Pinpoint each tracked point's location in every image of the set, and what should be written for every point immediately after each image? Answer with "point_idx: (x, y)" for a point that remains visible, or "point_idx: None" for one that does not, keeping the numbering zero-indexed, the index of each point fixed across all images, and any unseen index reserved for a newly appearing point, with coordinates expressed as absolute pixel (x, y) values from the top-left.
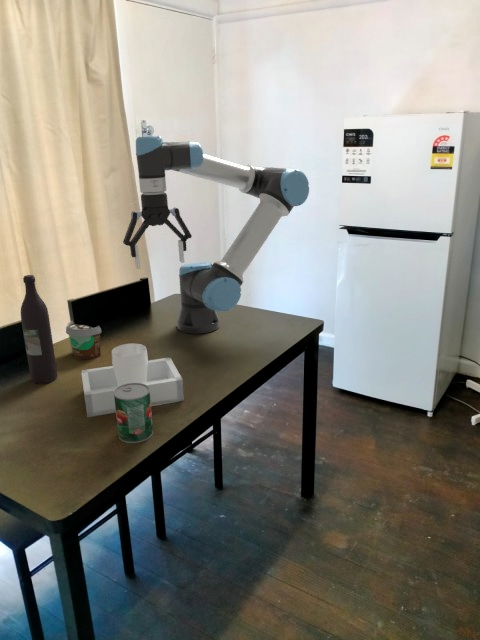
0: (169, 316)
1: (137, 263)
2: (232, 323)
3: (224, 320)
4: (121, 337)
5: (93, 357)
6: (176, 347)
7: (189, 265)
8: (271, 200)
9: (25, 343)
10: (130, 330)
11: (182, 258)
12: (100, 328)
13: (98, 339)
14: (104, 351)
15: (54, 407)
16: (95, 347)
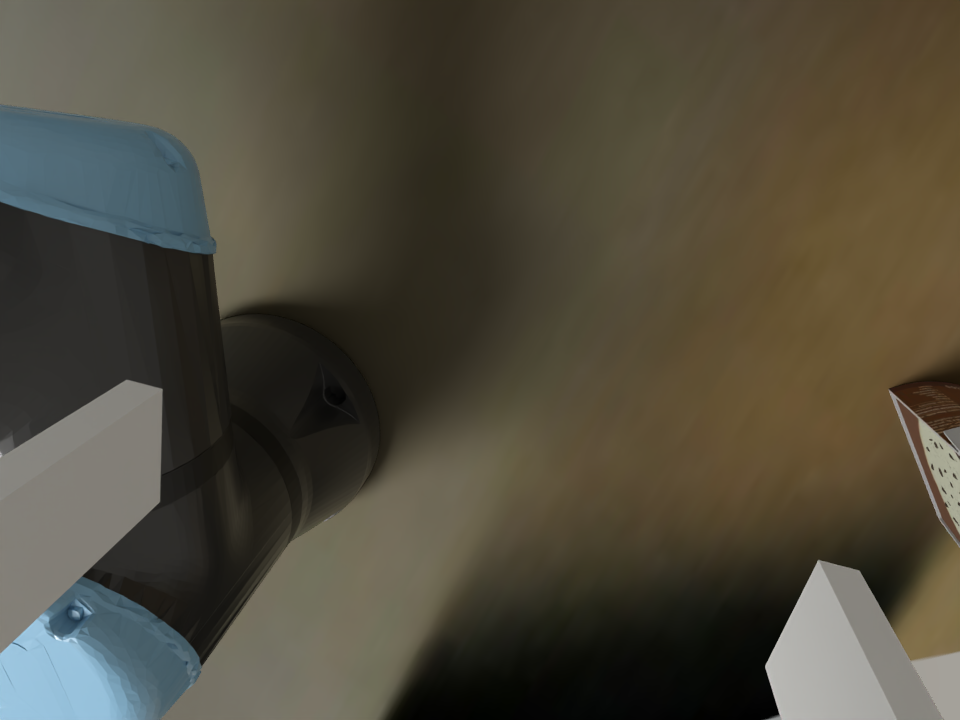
0: (341, 612)
1: (889, 629)
2: None
3: None
4: (666, 531)
5: (940, 382)
6: (499, 236)
7: (62, 681)
8: None
9: None
10: (583, 579)
11: (105, 417)
12: (958, 449)
13: (943, 421)
14: (839, 425)
15: None
16: (949, 402)
